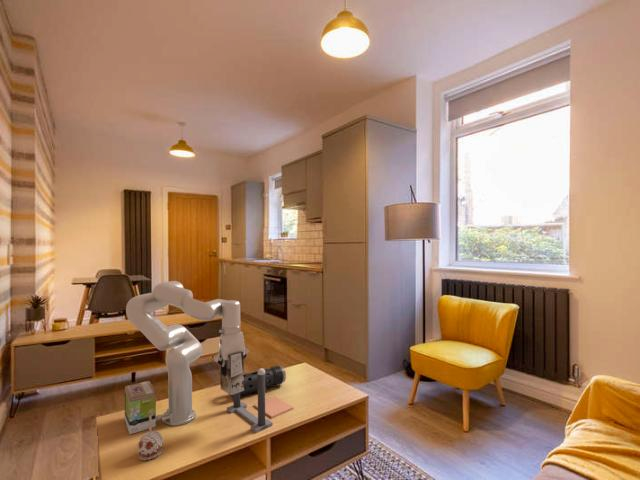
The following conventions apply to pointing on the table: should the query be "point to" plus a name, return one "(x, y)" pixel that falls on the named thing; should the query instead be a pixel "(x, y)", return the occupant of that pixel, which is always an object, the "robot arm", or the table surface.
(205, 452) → the table surface
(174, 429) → the table surface
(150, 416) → the decorative ornament
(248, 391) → the muzzle brake
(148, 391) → the tea box
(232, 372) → the coffee box
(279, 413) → the terracotta tile
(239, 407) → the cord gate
